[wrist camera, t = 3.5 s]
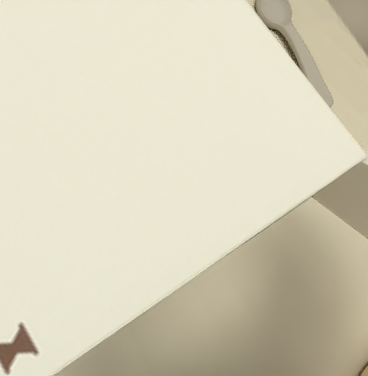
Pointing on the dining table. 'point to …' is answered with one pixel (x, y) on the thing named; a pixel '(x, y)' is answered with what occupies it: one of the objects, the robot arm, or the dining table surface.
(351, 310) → the dining table surface
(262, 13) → the spoon
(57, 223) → the supplement box
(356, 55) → the dining table surface
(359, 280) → the dining table surface
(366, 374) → the teacup with lid
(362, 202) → the robot arm
